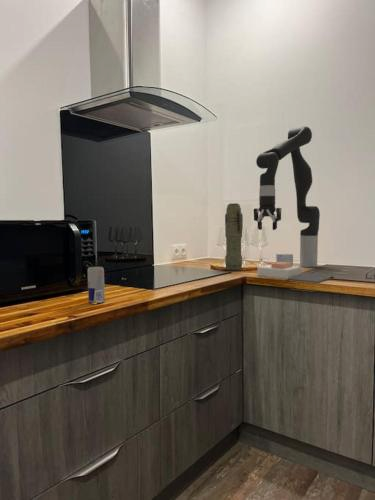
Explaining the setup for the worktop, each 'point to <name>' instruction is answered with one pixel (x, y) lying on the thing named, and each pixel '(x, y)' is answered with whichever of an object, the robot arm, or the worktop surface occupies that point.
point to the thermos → (233, 237)
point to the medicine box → (284, 258)
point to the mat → (310, 278)
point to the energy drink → (96, 285)
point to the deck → (279, 271)
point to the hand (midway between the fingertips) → (267, 229)
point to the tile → (281, 265)
